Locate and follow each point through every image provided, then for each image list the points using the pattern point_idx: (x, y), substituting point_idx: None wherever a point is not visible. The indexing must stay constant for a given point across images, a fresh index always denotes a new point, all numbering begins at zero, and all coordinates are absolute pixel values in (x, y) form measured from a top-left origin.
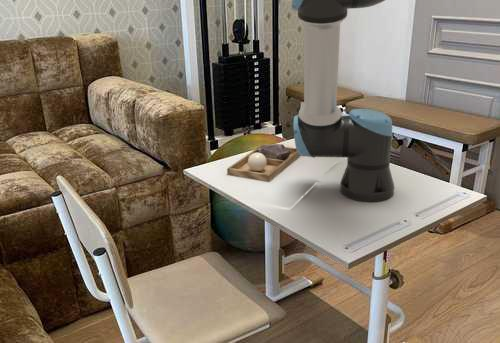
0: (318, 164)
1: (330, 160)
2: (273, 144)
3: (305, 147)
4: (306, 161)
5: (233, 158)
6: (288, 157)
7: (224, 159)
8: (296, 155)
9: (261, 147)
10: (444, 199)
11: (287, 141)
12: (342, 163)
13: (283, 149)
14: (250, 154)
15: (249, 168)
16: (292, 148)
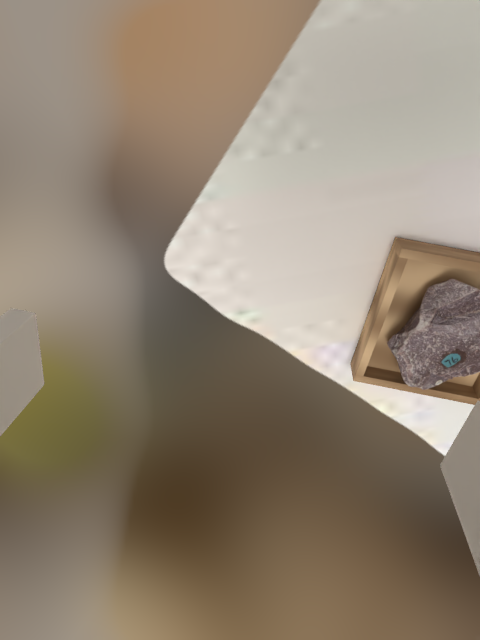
0: (477, 158)
1: (426, 115)
2: (408, 352)
3: None
4: (441, 211)
5: (420, 426)
6: (434, 280)
7: (430, 444)
8: (456, 255)
9: (430, 381)
10: None
11: (229, 314)
12: (464, 51)
13: (456, 311)
14: (470, 397)
15: None
16: (398, 283)
